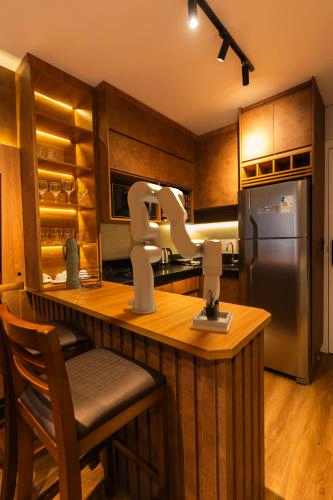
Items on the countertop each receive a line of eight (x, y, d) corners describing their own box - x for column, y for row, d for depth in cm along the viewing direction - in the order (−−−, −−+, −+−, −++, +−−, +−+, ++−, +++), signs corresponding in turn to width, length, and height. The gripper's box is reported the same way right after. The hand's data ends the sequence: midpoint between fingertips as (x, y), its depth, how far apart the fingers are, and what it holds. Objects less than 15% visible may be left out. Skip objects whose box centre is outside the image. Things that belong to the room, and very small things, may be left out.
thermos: (84, 287, 170) (82, 237, 168) (69, 290, 161) (66, 238, 158) (77, 285, 175) (74, 238, 173) (62, 288, 166) (59, 238, 163)
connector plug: (203, 320, 96) (202, 306, 95) (205, 317, 99) (205, 303, 99) (217, 322, 94) (216, 307, 93) (218, 319, 97) (218, 304, 97)
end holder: (190, 328, 91) (190, 320, 91) (200, 314, 106) (200, 308, 106) (227, 332, 86) (227, 324, 86) (233, 318, 101) (233, 311, 101)
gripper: (207, 267, 104) (208, 306, 105) (197, 274, 88) (198, 319, 89) (225, 268, 101) (225, 307, 103) (218, 274, 85) (218, 321, 87)
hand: (212, 313), depth 96 cm, fingers open, 9 cm apart
